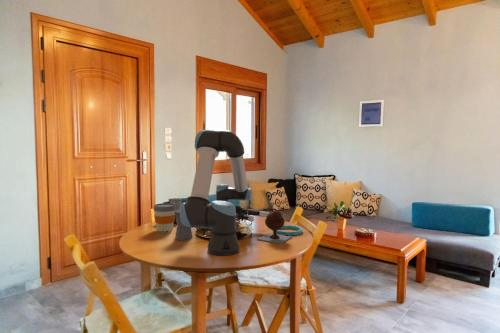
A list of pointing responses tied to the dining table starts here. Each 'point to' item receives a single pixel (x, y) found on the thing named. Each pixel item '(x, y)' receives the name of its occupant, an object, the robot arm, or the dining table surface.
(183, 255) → the dining table surface
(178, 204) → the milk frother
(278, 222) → the ice cream bowl
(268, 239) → the mat
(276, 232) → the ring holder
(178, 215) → the coffeepot
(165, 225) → the reusable coffee cup
